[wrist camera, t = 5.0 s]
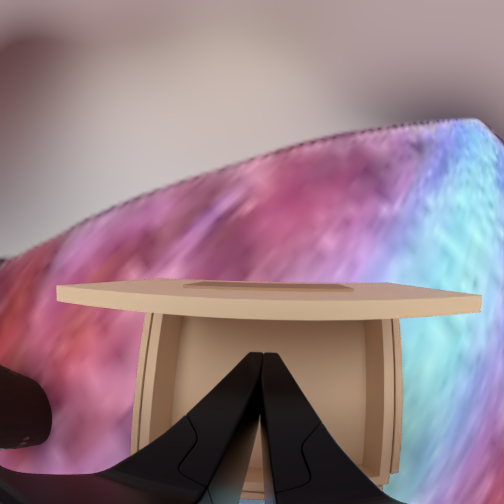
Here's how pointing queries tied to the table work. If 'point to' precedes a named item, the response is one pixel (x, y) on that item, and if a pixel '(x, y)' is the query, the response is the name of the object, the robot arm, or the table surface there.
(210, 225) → the table surface
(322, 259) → the table surface
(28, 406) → the coffee mug
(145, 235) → the table surface
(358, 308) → the flap
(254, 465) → the kraft box
